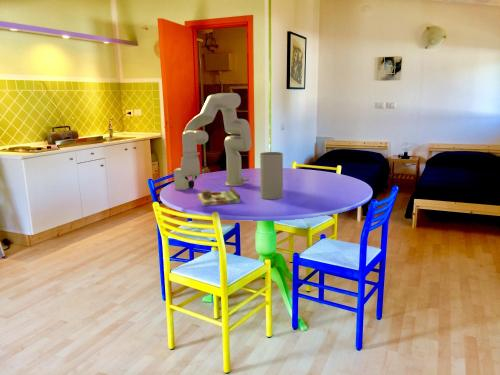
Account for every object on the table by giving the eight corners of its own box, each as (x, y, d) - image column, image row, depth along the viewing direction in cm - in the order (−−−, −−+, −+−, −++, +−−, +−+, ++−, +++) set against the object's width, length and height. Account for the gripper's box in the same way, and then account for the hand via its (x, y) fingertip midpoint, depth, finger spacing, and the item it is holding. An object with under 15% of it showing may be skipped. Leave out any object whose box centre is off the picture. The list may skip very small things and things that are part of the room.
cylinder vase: (268, 193, 244) (268, 151, 238) (286, 196, 237) (286, 152, 231) (256, 198, 234) (255, 154, 228) (275, 201, 227) (275, 155, 221)
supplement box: (185, 190, 257) (184, 170, 254) (174, 189, 258) (173, 169, 255) (189, 187, 264) (188, 167, 261) (178, 187, 265) (177, 167, 262)
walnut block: (210, 195, 233) (209, 189, 232) (211, 197, 229) (211, 191, 228) (202, 196, 232) (201, 190, 231) (203, 198, 227) (203, 192, 227)
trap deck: (231, 194, 244) (231, 187, 243) (240, 202, 226) (239, 195, 225) (197, 197, 239) (197, 190, 238) (203, 205, 220) (203, 198, 219)
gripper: (202, 153, 228) (203, 185, 232) (175, 154, 224) (176, 187, 228) (204, 155, 221) (206, 188, 225) (176, 156, 217) (178, 190, 221)
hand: (191, 188), depth 226 cm, fingers closed
